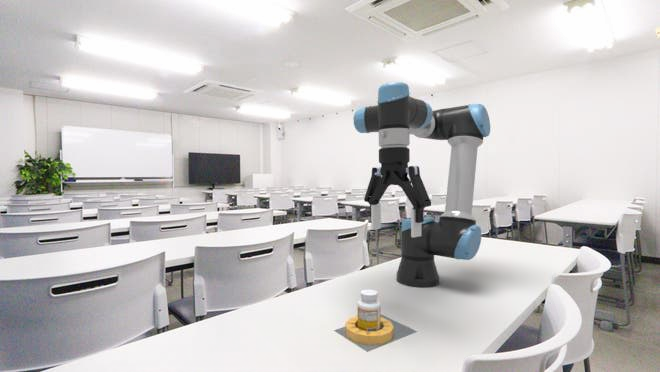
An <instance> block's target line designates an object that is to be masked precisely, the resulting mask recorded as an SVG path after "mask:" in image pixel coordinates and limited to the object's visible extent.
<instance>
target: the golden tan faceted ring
mask: <svg viewBox="0 0 660 372" xmlns="http://www.w3.org/2000/svg"><path fill="white" fill-rule="evenodd" d="M344 324H345V325H344V327H345V332H346V335H347V337H348V338H349V339H351V340H352V341H354V342H356V343H361V344H365V345H381V344H384V343H386V342H389V341H391V339H392V337H393V335H394V326H393V325H392V323H391V322H390V321H389V320H387V319H385V318H383V317H380V330H378V331H369V332H368V331H363V330H360V329H358V315H355V316H353V317H350V318H348V319H347V321H346V322H345V323H344Z"/></svg>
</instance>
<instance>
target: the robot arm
mask: <svg viewBox="0 0 660 372" xmlns="http://www.w3.org/2000/svg"><path fill="white" fill-rule="evenodd" d="M377 93H378V94H377V102H376V103H377V105H372V106H364V107H362V108H359V109H357V110H355V112H354V114H353V126H354V129H355V130H356V131H357V132H359V133H360V134H370V133H378V146H379V147H380V148H379V149H378V162H379V163H380V167H372V168H371V177H370V179H369V183H368V186H367V188H366V193H365V196H364V197H363V200H364V202H367V203H368V204H369V215H370V217H371V218H370V219H371V228H370V229H371V230H372V231H373V230H374V231H375V230H380V229H382V217H381V216H382V215H381V213H382V211H381V209H382V208H381V207H382V206H381V204H380V201H381V199H382V197H383V196H384V194H385V192H386V191H387V189H388V188H389V186H398V187H399V188H400V189H402V191H403V192H404V194H405V196H406V198H407V199H408V201H409V202H410V203H411V205H412V208H411V209H410V218H406V219H403V221H402V222H401V228H400V229H401V230H400V235H401V236H400V237H401V238H400V239H401V245H400V246H401V251H400V252H401V259H400V262H399V266H398V268H397V271H396V277H395V278H396V281H397V282H398V283H400V284H403V285H406V286H410V287H416V288H430V287H429V286H431V287H434V286H438V285H439V284H438V283H440V275H439V273H438V270H437V266H436V262H435V256H437V257H438V256H439V257H442V258H443V257H444V258H449V259H450V258H451V259H456V260H463V261H465V260H466V261H469V260H472V259H474V258H475V257H476V255H477V254H478V252H479V249H480V246H481V242H482V228H481V226H479V225H477V224H476V223H477V219H475V217H474V216H473V214H472V213H473V205H474V204H473V202H474V192H475V183H476V182H475V181H476V170H477V158H478V148H479V147H481V145H483V144H484V138H488V137H489V136H490V133H491V121H490V120H491V119H490V115H489V113H488V111H487V108H486V107H485V105H484V104H482V103H474V104H473V103H472V104H470V103H469V104H466V105H465V104H464V105H460V106H459V105H458V106H453V107H447V108H439V109H435V110H433V109H432V106H431V105H430V103H428V102H426V101H424V100H423V99H419V98H414V97H413V96H412V97H411V96H410V95H411V93H410V87H409V85H408V83H406V82H402V81H393V82H387V83H384V84H382V85H380V86H379V87H378V92H377ZM410 135H414V136H415V137H417V138H419V139H429V140H435V141H447V144H449V146H450V148H451V149H450V159H449V169H448V179H447V186H446V195H445V197H446V198H445V205H444V207H445V208H444V212H443V213H442V214H440V215H439V219H438V221H436V220H435V217H433V216H428V217H427V216H425V217H424V213H425V211H424V210H425V208H427V207H431V206H432V202H431V198H430V196H429V194H428V191H427V189H426V187H425V184H424V181H423V180H422V177H421V173H420V172H421V171H420V167H419V166H418V165H410V166H409V163H410V161H411V159H410V158H411V157H410V148H409V147H408V146H410V144H411V143H410ZM437 284H438V285H437Z"/></svg>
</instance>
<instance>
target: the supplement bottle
mask: <svg viewBox="0 0 660 372" xmlns="http://www.w3.org/2000/svg"><path fill="white" fill-rule="evenodd" d="M378 294H379V293H378V291H377V290H374V289H363V290H361V291H360V299H359V300H358V301H357V316H358V329H360V330H363V331H368V332H369V331H378V330H380V315H381V302H380V301H379V300H378V298H379V295H378Z"/></svg>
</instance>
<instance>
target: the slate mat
mask: <svg viewBox="0 0 660 372" xmlns="http://www.w3.org/2000/svg"><path fill="white" fill-rule="evenodd" d="M380 317H383V318H385V319H387V320H389V321H390V322H391V323H392V325H393V326H394V335H393V337H392V339H391V341H389V342H386V343H384V344H381V345H365V344H361V343H356V342H354V341H352V340H351V339H349V338H348V337H347V335H346V332H345V326H343V327H340V328H337V329H334V332H335V333H337V334H339V335H340V336H342V337H343V338H345V339H347V341H349V342H351V343H353V344H354V345H356V346H357V347H359V348H361V349H362V350H364V352H367V353H368V352H371V351H372V350H373V351H374V350H376V349H378V348H381V347H383V346H385V345H386V346H387V344H390V343H393V342H395V341H397V340H401V339H403V338H405V337H407V336H410V335H412V334H414V333H415V334H416V333H417V332H418V331H417V330H415V329H413V328H411V327H409V326H406V324H403V323H400V322H398V321H396V320H395V319H392V318H391V317H387V316H385V315H384V314H380Z"/></svg>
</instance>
